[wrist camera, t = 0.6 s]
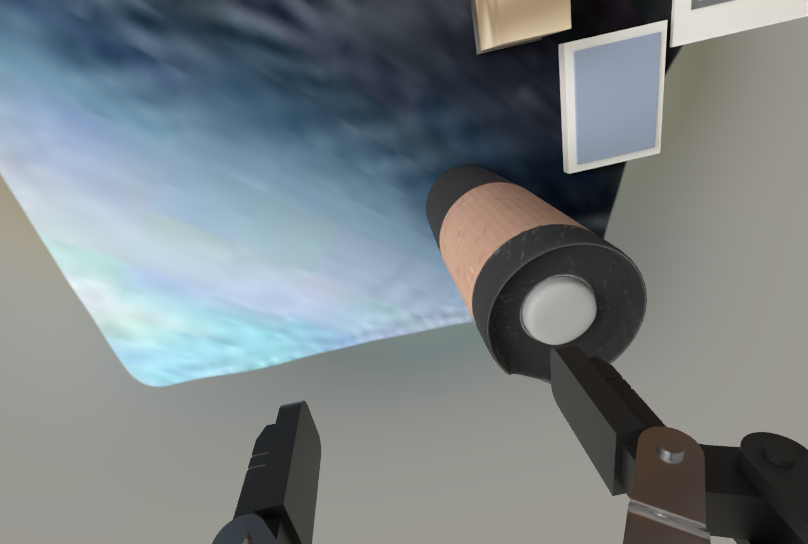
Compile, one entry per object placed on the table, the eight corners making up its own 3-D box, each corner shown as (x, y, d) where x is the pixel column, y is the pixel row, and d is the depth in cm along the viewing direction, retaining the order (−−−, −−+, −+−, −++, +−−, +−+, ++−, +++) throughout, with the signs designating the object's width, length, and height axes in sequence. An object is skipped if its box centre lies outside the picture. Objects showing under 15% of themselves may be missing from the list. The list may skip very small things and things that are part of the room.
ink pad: (558, 44, 32) (565, 42, 31) (658, 21, 32) (670, 19, 31) (563, 171, 36) (570, 174, 35) (652, 151, 36) (662, 153, 35)
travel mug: (489, 145, 35) (629, 206, 16) (519, 222, 38) (665, 346, 19) (408, 186, 35) (455, 289, 17) (443, 259, 38) (516, 411, 20)
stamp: (468, -19, 30) (491, -44, 24) (532, -34, 30) (571, -62, 24) (476, 54, 32) (500, 47, 26) (537, 40, 32) (573, 30, 26)
